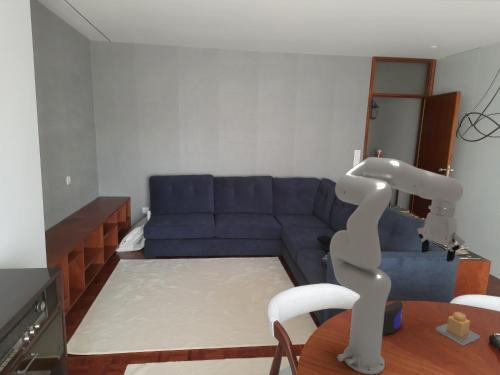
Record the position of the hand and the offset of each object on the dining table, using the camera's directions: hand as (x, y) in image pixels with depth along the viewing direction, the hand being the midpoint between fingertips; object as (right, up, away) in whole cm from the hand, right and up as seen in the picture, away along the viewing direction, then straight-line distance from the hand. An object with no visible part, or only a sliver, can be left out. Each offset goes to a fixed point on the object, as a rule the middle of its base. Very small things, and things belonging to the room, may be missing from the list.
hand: (437, 256), depth 120 cm
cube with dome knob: (+7, -28, 0) cm, 29 cm away
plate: (+7, -29, 0) cm, 30 cm away
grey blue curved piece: (-18, -28, +3) cm, 33 cm away
